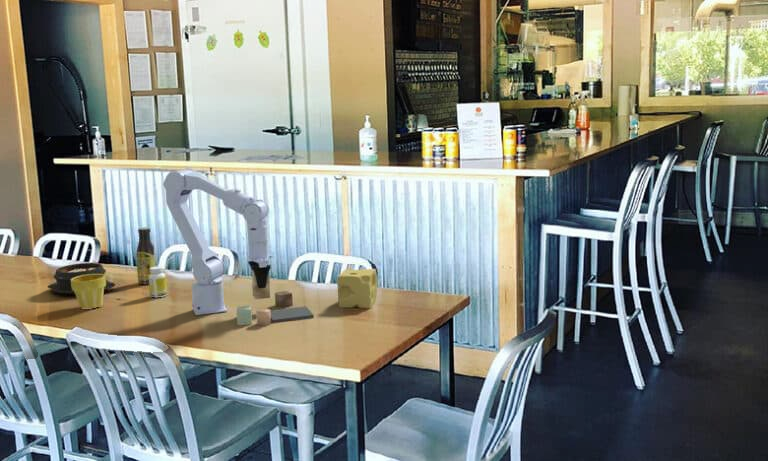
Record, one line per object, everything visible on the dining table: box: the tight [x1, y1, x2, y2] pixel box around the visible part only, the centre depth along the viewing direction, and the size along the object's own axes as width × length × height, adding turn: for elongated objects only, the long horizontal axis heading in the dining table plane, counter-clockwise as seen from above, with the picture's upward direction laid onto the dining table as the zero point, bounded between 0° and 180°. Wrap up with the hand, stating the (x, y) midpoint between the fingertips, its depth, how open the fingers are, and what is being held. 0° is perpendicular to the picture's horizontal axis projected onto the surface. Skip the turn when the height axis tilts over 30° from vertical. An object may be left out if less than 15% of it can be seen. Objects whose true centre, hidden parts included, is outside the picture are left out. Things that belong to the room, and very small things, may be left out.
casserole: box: [47, 262, 116, 295], centre depth 272 cm, size 25×19×8 cm
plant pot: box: [71, 274, 107, 309], centre depth 250 cm, size 10×10×10 cm
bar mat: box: [270, 305, 314, 324], centre depth 233 cm, size 12×10×1 cm
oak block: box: [251, 269, 271, 300], centre depth 236 cm, size 4×4×8 cm
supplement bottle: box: [148, 265, 168, 298], centre depth 260 cm, size 5×5×10 cm
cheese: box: [336, 268, 378, 309], centre depth 243 cm, size 10×11×10 cm
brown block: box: [255, 308, 272, 327], centre depth 226 cm, size 4×4×4 cm
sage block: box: [236, 305, 253, 326], centre depth 228 cm, size 4×4×4 cm
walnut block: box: [274, 290, 294, 309], centre depth 244 cm, size 4×4×4 cm
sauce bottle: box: [135, 226, 156, 285], centre depth 278 cm, size 7×6×20 cm
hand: (260, 286), depth 236 cm, fingers closed on oak block, 4 cm apart
